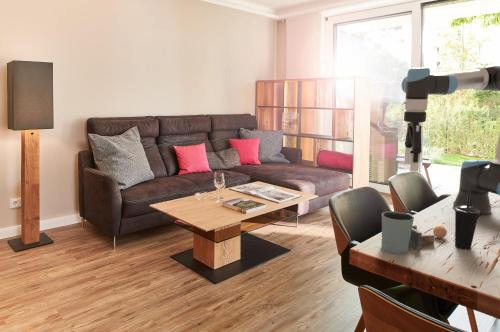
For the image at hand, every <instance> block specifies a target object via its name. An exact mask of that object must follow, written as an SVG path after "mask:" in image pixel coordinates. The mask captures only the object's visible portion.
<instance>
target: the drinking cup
mask: <svg viewBox="0 0 500 332" xmlns="http://www.w3.org/2000/svg"><path fill="white" fill-rule="evenodd" d="M469 200H470V191H468V197H467V205H461V206H457V207H455V209H454V211H455V212H454V215H455V216H454V219H455V221H454V226H455V227H454V230H455V231H454V247H455V248H456V249H460V250H463V251H464V250H465V251H469V250H471V249H472V245H473V244H472V243H473V240H474V235H475V233H476V232H475V231H476V228H477V223H478V219H479V213H480V210H479V209H476V208H475V207H472V206H469Z"/></svg>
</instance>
